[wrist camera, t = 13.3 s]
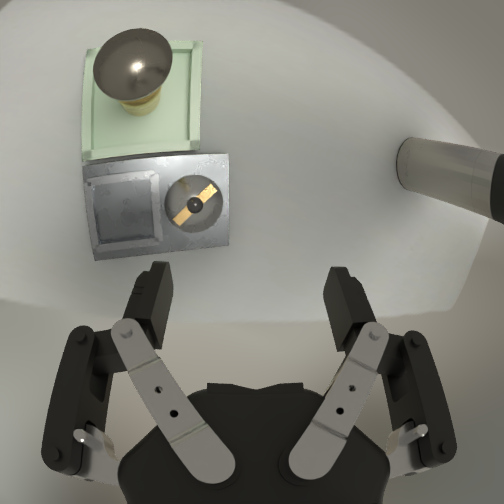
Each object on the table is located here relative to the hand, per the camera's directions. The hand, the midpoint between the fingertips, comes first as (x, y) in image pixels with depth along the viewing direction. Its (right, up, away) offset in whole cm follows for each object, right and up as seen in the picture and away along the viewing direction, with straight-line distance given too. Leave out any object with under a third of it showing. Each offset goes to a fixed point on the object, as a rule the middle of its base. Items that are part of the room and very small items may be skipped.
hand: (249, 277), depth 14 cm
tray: (-11, +17, +10) cm, 23 cm away
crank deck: (-10, +7, +15) cm, 19 cm away
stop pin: (-11, +17, +9) cm, 22 cm away
